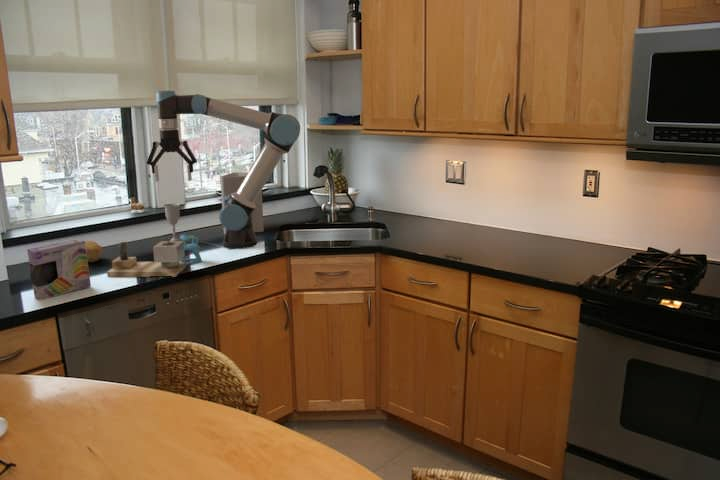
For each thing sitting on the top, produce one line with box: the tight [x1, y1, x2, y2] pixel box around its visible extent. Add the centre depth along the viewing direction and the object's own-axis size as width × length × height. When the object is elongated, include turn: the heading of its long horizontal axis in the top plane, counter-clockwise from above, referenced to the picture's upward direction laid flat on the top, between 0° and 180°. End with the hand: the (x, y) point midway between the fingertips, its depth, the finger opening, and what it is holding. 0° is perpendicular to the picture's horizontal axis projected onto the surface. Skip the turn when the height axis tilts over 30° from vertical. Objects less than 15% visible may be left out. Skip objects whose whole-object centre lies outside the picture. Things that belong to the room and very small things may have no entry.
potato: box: [85, 240, 104, 263], centre depth 258 cm, size 10×14×8 cm
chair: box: [179, 233, 203, 266], centre depth 255 cm, size 8×8×12 cm
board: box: [106, 241, 187, 278], centre depth 242 cm, size 26×14×12 cm, turn 88°
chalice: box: [163, 202, 181, 241], centre depth 286 cm, size 7×7×18 cm
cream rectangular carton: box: [220, 172, 265, 235], centre depth 310 cm, size 19×15×28 cm
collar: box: [152, 240, 186, 262], centre depth 242 cm, size 9×9×6 cm
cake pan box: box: [27, 238, 92, 301], centre depth 217 cm, size 19×5×18 cm, turn 138°
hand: (173, 180), depth 262 cm, fingers open, 13 cm apart
